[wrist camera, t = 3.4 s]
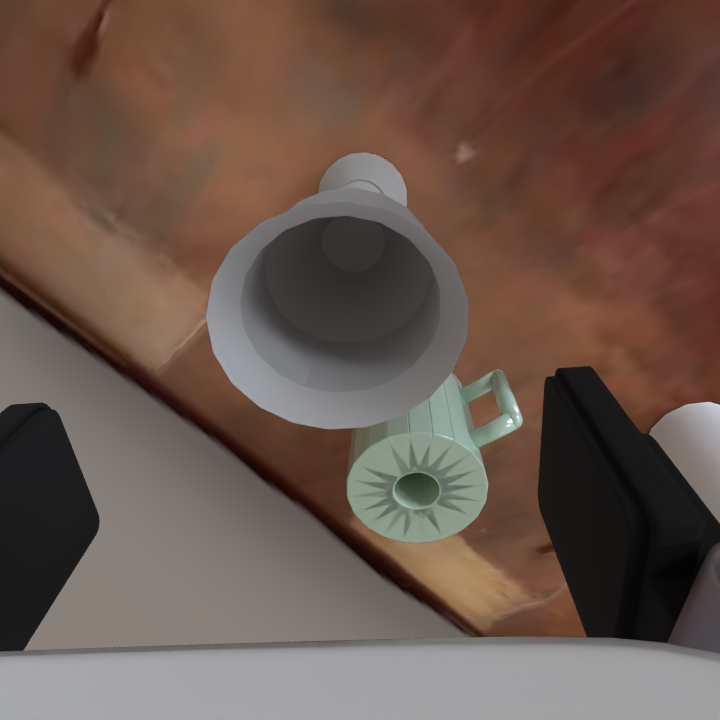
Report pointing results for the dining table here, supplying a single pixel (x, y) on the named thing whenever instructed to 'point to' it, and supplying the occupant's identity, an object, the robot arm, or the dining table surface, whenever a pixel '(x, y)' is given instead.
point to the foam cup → (694, 448)
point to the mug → (428, 463)
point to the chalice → (340, 304)
